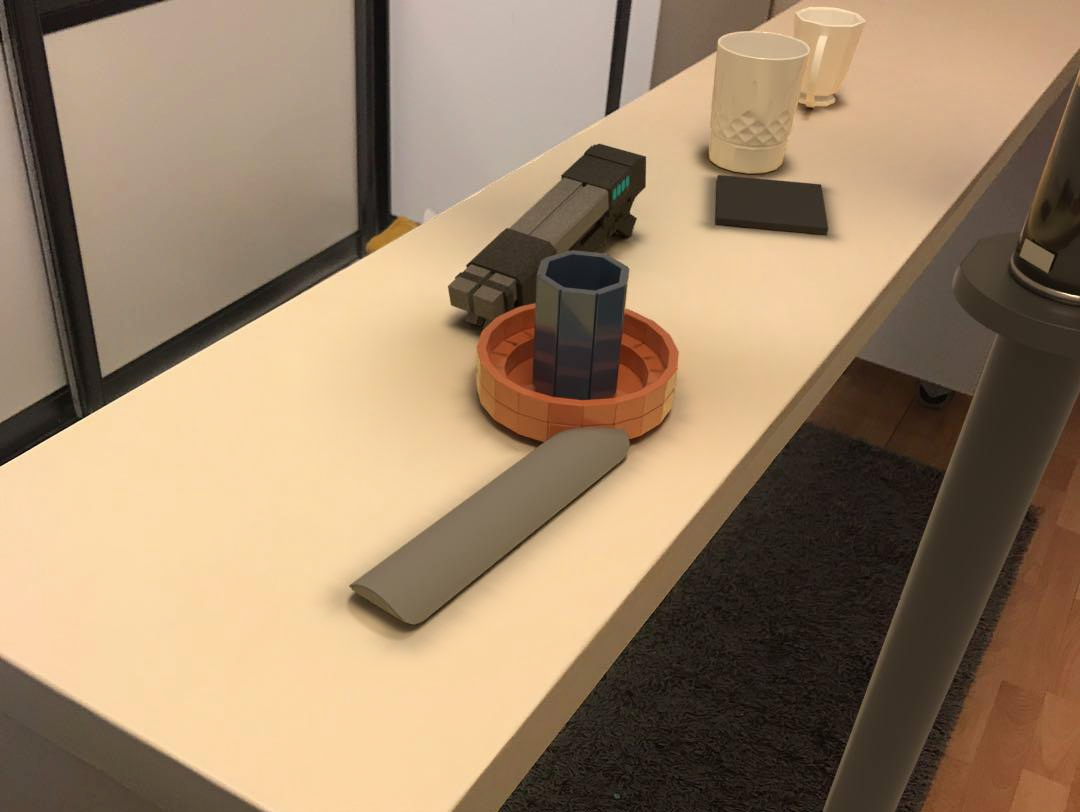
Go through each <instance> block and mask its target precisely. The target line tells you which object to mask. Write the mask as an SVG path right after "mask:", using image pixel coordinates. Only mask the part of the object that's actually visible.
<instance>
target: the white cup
mask: <svg viewBox="0 0 1080 812" xmlns="http://www.w3.org/2000/svg"><path fill="white" fill-rule="evenodd" d="M809 54H810V47H809V46H808V45H807V44H806V43H805V42H803V41H801V40H799V39H796V38H794V36H790V35H787V34H783V33H782V34H781V33H778V32H770V31H761V30H745V31H743V30H742V31H734V32H730V33H726V34H724V35H722V36H720V37H719V38H718V39H717V44H716V55H715V56H716V57H715V66H714V76H713V84H712V85H713V86H712V94H711V96H712V97H711V106H710V107H711V108H710V123H709V126H710V133H709V134H710V135H709V143H708V158H709V160H710V161H711V162H712V163H713V164H714V165H715V166H717V167H718V168H721V169H724V170H728V171H730V172H734V173H735V172H736V173H742V174H765V173H769V172H772V171H773V172H774V171H776V170H778V168H780V167H781V165H782V164H783V161H784V158H785V154H786V149H787V146H788V145H787V144H788V138H789V136H790V134H791V131H792V129H793V124H794V119H795V115H796V113H797V109H798V104H799V102H798V101H799V97H800V92H801V88H802V84H803V79H804V75H805V71H806V67H807V63H808V58H809Z"/></svg>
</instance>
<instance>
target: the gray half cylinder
mask: <svg viewBox="0 0 1080 812" xmlns="http://www.w3.org/2000/svg"><path fill="white" fill-rule="evenodd" d="M630 444H631V442H630V439H629V438H628V434H627V432H626V431H625V429H614V428H613V429H611V428H605V427H586V428H574V429H568V430H564V431H562V432H559V433H557V434H555V435H554V436H552V437H551V438H550V439H548V440H547V441H545V442H542V443H541V444H540V445H539V446H538V447H535V449H533V450H531V451H530V452H529V453H527V454H526V455H525V456H524V457H522V458H521V459H519V460H518V461H517V462H515V463H514V464H512V465H511V466H509V467H508V468H507V469H506V470H504V471H503V472H501V473H499V475H497V476H496V477H495V478H493V479H492V480H490V482H488V483H487V484H485V485H484V486H483V487H481V488H480V489H479V490H477V491H476V492H474V493H473V494H472V495H470V496H469V497H468V498H466V499H465V500H463V501H462V502H461V503H459V504H458V505H457V506H455V507H454V508H452V510H449V512H447V513H446V514H444V515H442V517H440V518H439V519H437V520H436V521H435V522H433V524H431V525H429V526H428V527H427V528H426V529H424V530H422V531H421V532H420V533H418V534H417V535H416V536H415V537H412V538H411V540H409V541H408V542H406V543H404V545H402V546H401V547H400V548H398V549H397V550H395V551H394V552H392V553H391V554H390V555H388V556H387V557H386V558H384V559H383V560H382V561H379V563H377V564H376V565H375V566H373V567H372V568H371V569H369V570H368V571H366V573H364V574H363V575H361V576H360V577H359V578H357V579H356V580H354V581H353V582H352V583H350V584H349V585H348V587H349V588H350V589H351V591H353V592H355V593H356V594H358V595H359V596H361V597H362V598H364V599H365V600H367V601H369V602H371V604H373V605H376V606H377V607H379V608H380V609H382V610H384V611H385V612H387V613H388V614H390V615H391V616H393V617H394V618H396V619H398V620H399V621H401V622H403V623H406V624H410V625H416V624H420V623H422V622H425V620H426V619H428V618H429V617H430V616H432V615H433V614H434V613H435V612H436V611H438V610H439V609H440V608H441V607H443V606H444V605H445V604H446V603H448V602H449V601H450V600H451V599H452V598H454V597H455V596H456V595H458V593H460V592H461V591H463V589H465V588H466V587H468V586H469V585H470V584H471V583H472V582H474V581H475V580H476V579H477V578H479V577H480V576H482V574H483V573H485V572H486V571H487V570H488V569H489V568H491V567H492V566H493V565H495V564H496V563H497V562H498V561H499V560H500V559H502V558H503V557H505V556H506V555H507V554H508V553H509V552H511V551H513V549H514V548H515V547H517V546H518V545H519V544H521V543H522V542H523V541H525V539H527V538H528V537H529V536H531V535H532V534H533V533H534V532H535V531H537V529H539V528H540V527H542V525H544V524H545V523H546V522H547V521H549V520H550V519H551V518H553V517H554V516H555V515H556V514H558V513H559V512H560V511H561V510H563V508H565V507H566V506H568V504H571V502H572V501H574V499H576V498H577V497H578V496H580V495H582V494H583V492H585V491H586V490H587V489H588V488H590V487H591V486H592V485H593V484H594V483H596V482H597V481H598V480H600V479H601V478H602V477H603V476H604V475H606V474H607V473H608V472H610V471H611V470H612V469H613V468H614V467H616V466H617V465H618V464H619V463H621V462H622V461H624V459H625V458H626V456H627V455H628V453H629V450H630Z"/></svg>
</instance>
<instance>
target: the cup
mask: <svg viewBox="0 0 1080 812" xmlns="http://www.w3.org/2000/svg"><path fill="white" fill-rule="evenodd" d="M793 23H794V24H793V37H794V38H796V39H799V40H801V41H803V42H805V43H806V44H807V45H808V46H809V47H810V54H809V58H808V63H807V67H806V71H805V75H804V79H803V84H802V88H801V92H800V97H799V101H798V104H802V105H805V107H806V108H812V109H814V108H815V107H829V106H830V105H832V104H835V102H836V97H835V96H834V94H835V93H837V92H838V91H839V90H840V88H841V86H842V84H843V82H844V79H845V78H846V76H847V73H848V71H849V69H850V66H851V63H852V60H853V57H854V55H855V52H856V49H857V47H858V44H859V42H860V39H861V36H862V33H863V31H864V28H865V25H866V23H867V21H866V20H865V19H864V18H863V16H861V15H860V14H859V13H857V12H854V11H850V10H848V9H847V10H846V9H843V8H839V7H831V6H830V7H829V6H808V7H806V8H803V9H802V8H801V9H800V10H797V11H794V18H793Z"/></svg>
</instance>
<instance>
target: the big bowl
mask: <svg viewBox="0 0 1080 812" xmlns="http://www.w3.org/2000/svg"><path fill="white" fill-rule="evenodd" d="M535 305H536V302H534V303H533V304H529V305H524V306H520V307H517V308H515V309H513V310H511V311H509V312H506V313H504V314H502V315H500V316H498V317H496V318H495V319H494V320H493V321H492V322H491V323H490V324H489V325H488V326H487V327H486V328H483V329H482V331H481V333H480V335H479V338H478V340H477V341H478V342H477V344H476V354H475V355H476V357H475V358H476V359H475V360H476V363H475V364H476V370H475V371H476V372H475V373H476V377H475V378H476V385H475V386H476V391H477V394H478V398H479V403H480V405H481V406H482V407H483V408H484V409H485V411H486V412H487V413H488V414H489V415H490V416H491V418H492V419H493V420H494V421H496V422H497V423H499V424H501V425H502V426H504V427H505V428H507V429H509V430H511V431H513V432H514V433H516V434H518V435H520V436H523V437H527V438H529V439H533V440H535V441H539V442H542V443H544V442H545V441H547V440H548V439H550V438H551V437H552V436H554V435H555V434H557V433H559V432H562V431H564V430H568V429H574V428H586V427H605V428H611V429H613V428H614V429H625V431H626V432H627V434H628V438H629V440H632V439H634V438H638V437H641V436H643V435H644V434H646V433H647V432H649V431H651V430H652V429H654V428H656V427H657V426H659V425H660V424H661V423H662V422H663V420H664V419H665V418H666V417H667V415H668V414H669V412H670V411H671V409H672V408H673V403H674V396H675V390H676V382H677V376H678V369H679V355H680V351H679V349H678V347H677V345H676V344H675V342H674V340H673V338H672V335H671V333H669V332H668V331H666V330H665V329H664V328H663V327H662V326H661V325H660V324H658V323H657V322H656V321H654V320H653V319H651V318H648V317H646V316H644V315H642V314H640V313H638V312H636V311H634V310H633V309H630V308H626V310H625V320H624V329H623V339H622V349H621V359H620V368H619V378H618V384H617V391H616V393H615V395H614V396H613V398H607V399H592V400H577V399H568V398H558V397H551V396H548V395H545V394H541V393H538V392H536V389H535V387H534V386H533V384H532V379H533V354H534V330H535Z"/></svg>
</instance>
